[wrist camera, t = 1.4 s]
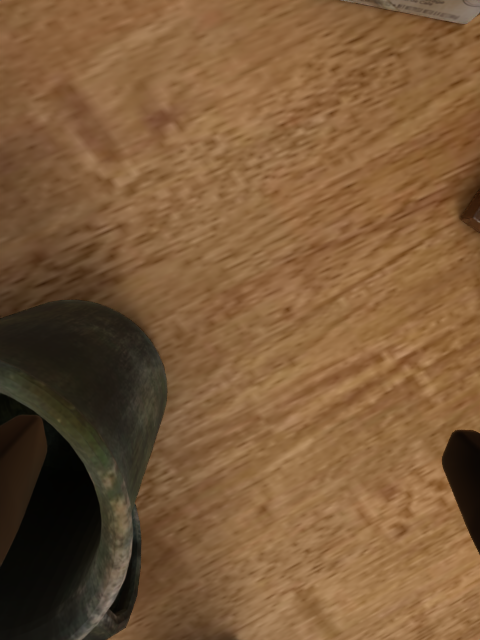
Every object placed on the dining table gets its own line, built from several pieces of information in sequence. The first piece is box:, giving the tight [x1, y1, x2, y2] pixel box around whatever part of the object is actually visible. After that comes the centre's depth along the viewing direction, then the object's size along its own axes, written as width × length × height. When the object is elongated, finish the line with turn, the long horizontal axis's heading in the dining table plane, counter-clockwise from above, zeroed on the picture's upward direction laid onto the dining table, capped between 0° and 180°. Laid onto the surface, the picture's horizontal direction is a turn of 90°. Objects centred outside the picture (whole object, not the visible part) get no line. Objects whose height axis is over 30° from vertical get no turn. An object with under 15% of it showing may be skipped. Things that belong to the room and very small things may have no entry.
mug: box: [0, 300, 167, 640], centre depth 17 cm, size 11×15×12 cm
